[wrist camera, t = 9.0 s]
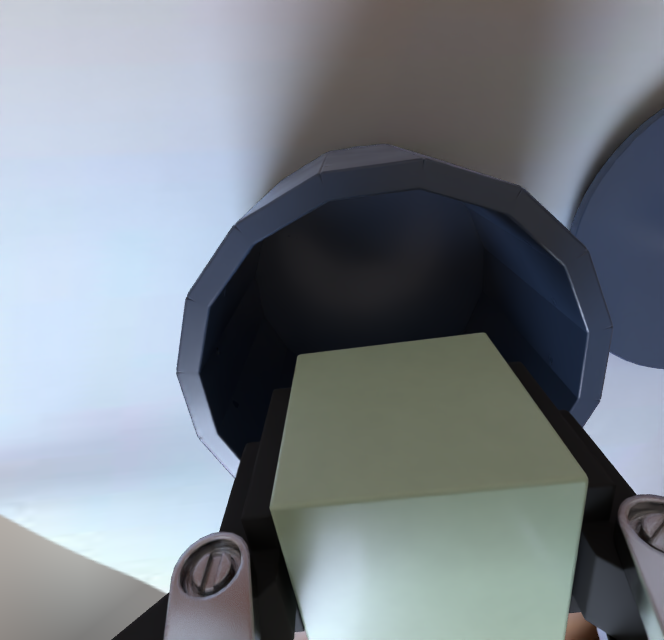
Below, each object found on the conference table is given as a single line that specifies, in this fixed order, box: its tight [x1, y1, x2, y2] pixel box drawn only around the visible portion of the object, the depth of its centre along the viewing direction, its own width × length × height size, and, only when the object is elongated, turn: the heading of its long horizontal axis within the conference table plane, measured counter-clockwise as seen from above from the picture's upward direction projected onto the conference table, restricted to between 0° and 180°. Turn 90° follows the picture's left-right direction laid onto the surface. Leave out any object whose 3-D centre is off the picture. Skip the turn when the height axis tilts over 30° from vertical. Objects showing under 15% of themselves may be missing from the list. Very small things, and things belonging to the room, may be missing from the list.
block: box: [269, 333, 588, 640], centre depth 9 cm, size 5×5×5 cm
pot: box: [176, 144, 613, 478], centre depth 17 cm, size 12×12×10 cm
